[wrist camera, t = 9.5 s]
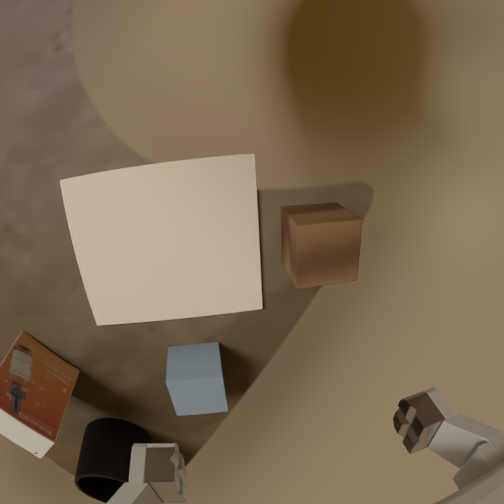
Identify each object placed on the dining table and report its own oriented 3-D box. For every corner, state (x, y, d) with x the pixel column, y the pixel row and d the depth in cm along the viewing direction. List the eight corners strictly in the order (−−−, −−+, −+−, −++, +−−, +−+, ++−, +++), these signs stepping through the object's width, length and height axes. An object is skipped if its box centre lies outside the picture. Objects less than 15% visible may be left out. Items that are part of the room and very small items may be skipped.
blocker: (280, 206, 27) (297, 225, 22) (336, 202, 27) (362, 219, 23) (281, 261, 29) (297, 288, 24) (334, 255, 29) (357, 280, 25)
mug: (70, 440, 35) (59, 490, 27) (102, 407, 33) (90, 467, 25) (125, 466, 39) (121, 514, 30) (166, 437, 36) (165, 495, 28)
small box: (81, 369, 30) (57, 444, 21) (63, 392, 31) (42, 461, 22) (22, 328, 27) (-18, 395, 18) (9, 355, 28) (-25, 418, 19)
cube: (168, 346, 31) (165, 381, 26) (218, 341, 31) (222, 376, 27) (177, 381, 33) (177, 415, 28) (223, 376, 33) (228, 411, 29)
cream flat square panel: (61, 179, 23) (59, 180, 23) (254, 153, 25) (254, 153, 24) (97, 323, 28) (97, 325, 28) (262, 307, 30) (262, 308, 30)
